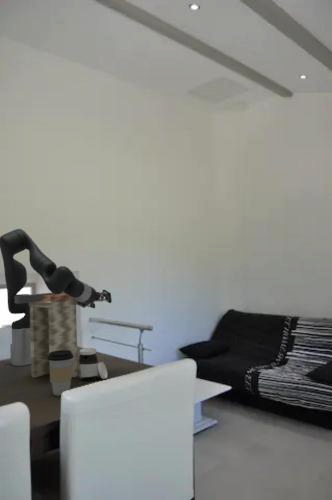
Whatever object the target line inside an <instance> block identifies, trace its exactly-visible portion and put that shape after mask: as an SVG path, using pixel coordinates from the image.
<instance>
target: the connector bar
mask: <svg viewBox="0 0 332 500" xmlns="http://www.w3.org/2000/svg"><path fill="white" fill-rule="evenodd" d="M61 294H63V292H62V293H61ZM46 295H56V294H54V293H52V292H46V293H45V292H44V293H33V294H31V293H30V295H20V296H14V298H15V303H16V304H21V303H30V302H39V301H42V296H46Z"/></svg>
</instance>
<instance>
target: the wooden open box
mask: <svg viewBox="0 0 332 500" xmlns="http://www.w3.org/2000/svg"><path fill="white" fill-rule="evenodd" d="M29 306H30V335H31V364H30V369H31V370H30V373H31V378H39V377H42V376H46V375H49V382H50V383H52V381H51V375H50V367H49V366H50V363H49V360H48V359H47V358H48V356H49V353H50V352H53V351H59V350H69V351H71V353H72V354H73V356H74V357H73V358H72V376H71V379H72V377H73V378H77V377H79V366H78V334H77V333H78V332H77V329H78V328H77V325H78V324H77V306H78V305H77V300H76V299H74V298H73V297H71V296H69V295H67V294H66V293H62V294H56V295H46V296H42V301H39V302H30V303H29Z"/></svg>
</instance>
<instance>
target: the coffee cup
mask: <svg viewBox="0 0 332 500" xmlns="http://www.w3.org/2000/svg"><path fill="white" fill-rule="evenodd" d="M73 357H74V356H73V354H72V353H71V351H69V350H59V351H53V352H50V353H49V356H48V358H47V359H48V360H49V363H50V366H49V367H50V374H49V376H50V375H51V381H52V382H51V385H52V393H53V395H54V396H58V397H59V396H60V395H61V393H62V392H63V391H66V390H69V389H70V390H71V385H72V383H71V382H72V378H71V376H72V358H73Z"/></svg>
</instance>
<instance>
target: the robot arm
mask: <svg viewBox="0 0 332 500" xmlns="http://www.w3.org/2000/svg"><path fill="white" fill-rule="evenodd" d="M26 250H27V251H29V253H28V254H29V256H28V257H29V259H28V260H29V264H30V266H31V268H32V270H33V271H35V272H36V273H37V274H38V275H39V276H40V277H41V278H42V280H43V282H44V284H45V286H46V287H47V289H48V290H49V292H50V293H54V294H61V293H62V294H63V293H64V294H67V295H69V296H71V297H73V298H74V299H76V300H77V305H76V306H79V307H82V308H86V307H88V308H91V309H96V304H95V302H96V303H97V302H100V303H103V302H107V303H109V304H112V302H113V299H112V293H111V292H109V291H108V290H106V289H103V290H102V291H101V292H99V291H96V289H95V288H94V287H92V286H91V285H89V284H88V283H85V282H83V281H81V280H79V279H78V278H77V277H76V276H75V275H74V273H73V272H72V270H71V269H70V268H69V267H67V266H65V265H62V266H61V265H60V266H57V264H56V263H55V262H54V261H53V260H52V259H50V257H49V256H47V255H46V254H45V253H44V252H42V249H40V248H39V246H38V245H37V244H36V242H35V241H34V240H33V239H32V238H31V237H30V235H29V234H28V233H27V232H26V231H25V230H23V229H21V228H17V229H13V230H11V231H9V232H6V233H4V234H2V235H1V236H0V253H1V258H2V261H3V268H4V278H5V279H4V280H5V286H6V291H7V292H6V293H7V310H8V312H9V313H10V314H12V315H19V314H20V315H21V314H24V316H22V317H21V318H20V319H17V320H15V321H12V323H11V343H10V349H9V350H10V365H12V366H17V367H19V366H20V367H22V366H23V367H24V366H27V365H31V335H30V306H29V303H21V304H16V303H15V298H14V296H20V295H31V293H30V294H29V293H25V294H24V293H23V294H22V293H21V294H18V293H19V292H20V291H21V290H22V289H23V288H24V287H25V286H26V285H27V282H28V275H27V274H28V273H27V268H26V266H25V265H24V264H23V263H21V262H20V261H18V260H17V259H15V257H14V256H15V255H16V254H19V253H21V252H23V251H26Z"/></svg>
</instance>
